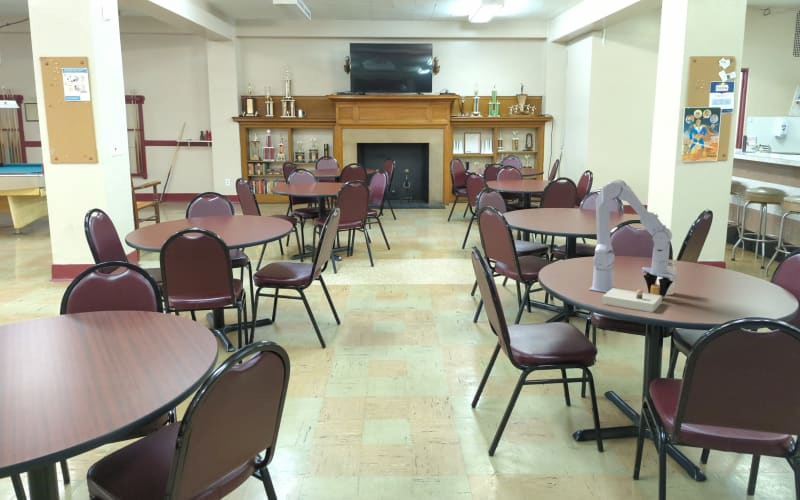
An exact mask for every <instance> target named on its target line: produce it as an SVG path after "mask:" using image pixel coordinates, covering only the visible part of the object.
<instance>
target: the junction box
mask: <svg viewBox="0 0 800 500" xmlns="http://www.w3.org/2000/svg"><path fill="white" fill-rule="evenodd" d="M662 301H663V300H662V296H661V295H655V294H650V293H648V292H644V290H643V289H637V290H636V291H635V290H628V289H624V288H623V289H622V288H616V287H615V288H612V289H611V290H610V291H608V292H607V293H606V292H605V294H603V295H602V297H601V304H603V305H608V306H613V307H617V308H618V307H619V308H625V309H632V310H636V311H642V312H643V311H644V312H648V313H653V312H654V311H656V309H658V307H659V306H660V305H661V304H662Z"/></svg>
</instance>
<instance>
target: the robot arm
mask: <svg viewBox="0 0 800 500" xmlns="http://www.w3.org/2000/svg"><path fill="white" fill-rule="evenodd" d="M616 199H618V200H621V201H623V202H626V203H627V204H628V205H629V206H630V207H631V208H632V209H633V210H634V212H635V213H636V214H638V216H639V217H640V221H639V222H640V223H641V225H642V226H643V227H644V228H645V230H646V231H647V232H648V233H649V234H650V235H651V236H652V242H653V248H652V256H651V257H652V258H651V267H647V266H646V267H642V269H641V273H643V274H644V275H643V279H644V281H645V283H646V287H647V291H648V292H647V293H649V294H650V288H651V285H652V284H657V277H662V278H663V279H659V283H660V295H661V296H662V297H663V298H664V297H666V296H667V295H666V293H667V290H668V288H669V286H670V285H671V284H672V282H673V281H675V282H676V281H677V274H676V275H673V274H671V273H669V272H667V269H668V262H669V260H670V259H669V257H670V246H671V240H672V238H673V233H672V231H671V230H670V228H667V226H666V224H663V223H662V221H660V219H659V215H658V214H656V213H654V212H653V211H652V212H651V211H648V209H646V207H645V205H644V204H643V203H642V202H641V200H640V198H638V196H637V195H636V194H635V192H634V191H633V190H632V188H631V187H630V186H629V185H627V183H626V182H625V181H624V180H622V179H616V180H611V181H609V182H607V183H605V185H603V186H602V188H601V190H600V192H599V194H598V195H597V197H596V198H595V220H596V221H595V225H596V227H595V228H596V245H595V250H594V256H593V258H592V264H593V273H592V286H591V287H589V288H588V290H589V291H594V292H601V293H605V294H606V293H607V292H608V291H610V290H611V289H612V288H616V287H615V286H614V278H615V277H614V275H615V272H614V268H613V263H614V262H615V260H616V254H615V253H614V251H613V246H612V244H611V215H610V213H611V212H610V210H611V209H610V204H612V203H613V202H614V201H615V200H616Z"/></svg>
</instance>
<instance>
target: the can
mask: <svg viewBox="0 0 800 500" xmlns="http://www.w3.org/2000/svg"><path fill="white" fill-rule="evenodd" d="M667 272H669V273H671V274H673V275H676V276H677V274H676V273H677V267H676V263H673V262H670V261H668V269H667ZM659 279H663V278H662V277H657V280H656V284H658V285H660V283H659ZM675 283H676V281H673V282H672V284H671V285H670V286H669V288H668V290H667V293H666V295H665V296H672V295H674V292H675Z"/></svg>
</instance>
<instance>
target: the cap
mask: <svg viewBox="0 0 800 500" xmlns="http://www.w3.org/2000/svg"><path fill="white" fill-rule="evenodd" d="M649 294H655V295H660V285H658V284H657V283H655V284H652V285H651V288H650V293H649ZM663 300H664V297H662V300H661V301H663Z"/></svg>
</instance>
